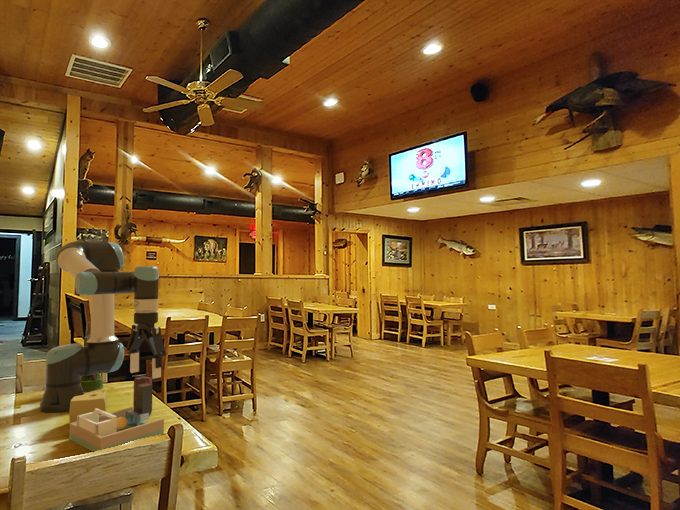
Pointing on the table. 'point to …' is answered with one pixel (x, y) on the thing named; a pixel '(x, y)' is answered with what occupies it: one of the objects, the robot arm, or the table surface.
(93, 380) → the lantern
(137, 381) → the can
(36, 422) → the table surface
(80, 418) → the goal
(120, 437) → the pinkish brown tray
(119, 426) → the ball
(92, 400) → the cheese
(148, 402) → the block
